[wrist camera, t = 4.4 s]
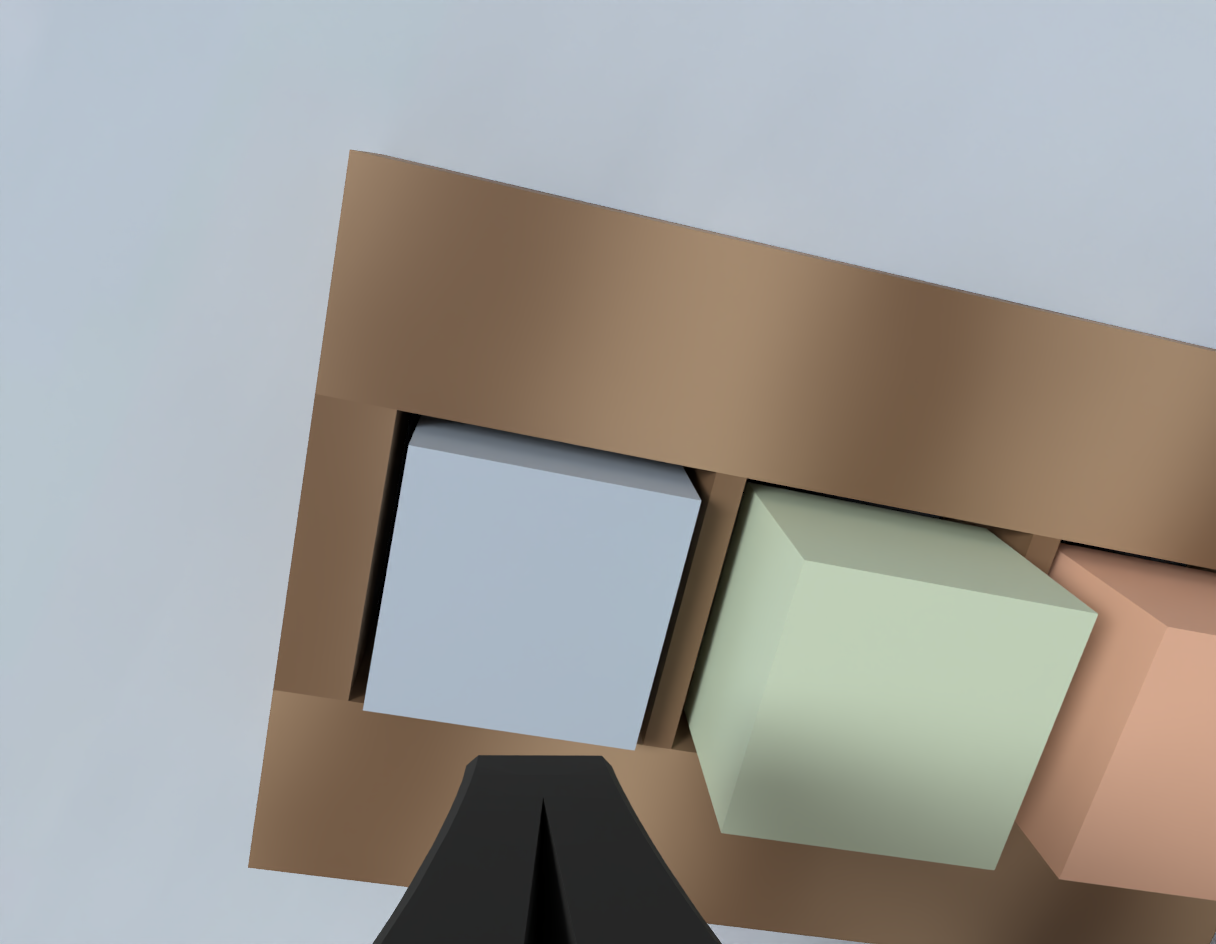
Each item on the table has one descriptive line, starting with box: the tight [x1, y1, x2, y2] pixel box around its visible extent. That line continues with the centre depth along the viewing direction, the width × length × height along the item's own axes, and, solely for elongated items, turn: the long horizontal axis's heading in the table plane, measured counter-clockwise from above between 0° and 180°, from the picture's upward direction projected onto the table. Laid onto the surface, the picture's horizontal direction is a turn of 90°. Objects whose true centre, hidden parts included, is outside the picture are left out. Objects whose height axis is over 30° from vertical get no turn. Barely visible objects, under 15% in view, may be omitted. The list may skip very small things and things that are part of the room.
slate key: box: [363, 415, 701, 751], centre depth 16 cm, size 4×4×3 cm
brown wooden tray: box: [248, 150, 1216, 944], centre depth 17 cm, size 18×12×3 cm, turn 77°
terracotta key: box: [1015, 543, 1216, 901], centre depth 16 cm, size 4×4×3 cm
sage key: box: [684, 482, 1098, 870], centre depth 15 cm, size 4×4×3 cm
